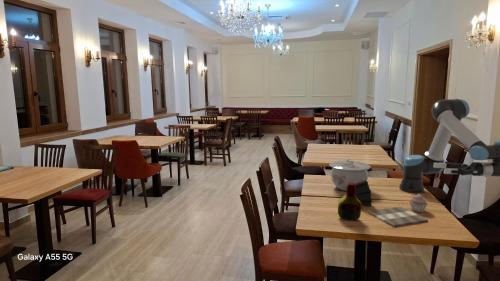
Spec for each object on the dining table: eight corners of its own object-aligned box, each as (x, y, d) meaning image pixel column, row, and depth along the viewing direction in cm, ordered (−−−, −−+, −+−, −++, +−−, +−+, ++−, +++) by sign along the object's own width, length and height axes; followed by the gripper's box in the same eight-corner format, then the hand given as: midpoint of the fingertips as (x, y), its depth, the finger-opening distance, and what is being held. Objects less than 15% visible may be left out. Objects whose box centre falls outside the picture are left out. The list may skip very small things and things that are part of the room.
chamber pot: (364, 197, 209) (365, 166, 206) (322, 190, 223) (323, 161, 220) (373, 186, 232) (375, 157, 229) (335, 180, 247) (336, 153, 244)
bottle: (361, 218, 176) (363, 182, 173) (360, 222, 170) (362, 185, 167) (338, 215, 181) (339, 180, 177) (336, 219, 175) (338, 183, 172)
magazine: (377, 204, 191) (366, 181, 192) (355, 211, 197) (345, 188, 197) (377, 202, 195) (366, 179, 195) (355, 209, 200) (345, 186, 201)
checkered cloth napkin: (399, 208, 190) (400, 206, 190) (427, 221, 171) (428, 219, 171) (367, 212, 184) (368, 211, 183) (393, 227, 165) (393, 225, 165)
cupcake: (418, 206, 192) (419, 190, 191) (430, 212, 183) (432, 195, 182) (404, 208, 190) (406, 191, 188) (416, 214, 181) (418, 197, 179)
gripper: (493, 182, 167) (448, 180, 170) (468, 170, 191) (429, 169, 194) (494, 167, 166) (449, 166, 169) (469, 157, 190) (430, 156, 193)
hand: (438, 168), depth 181 cm, fingers open, 13 cm apart
